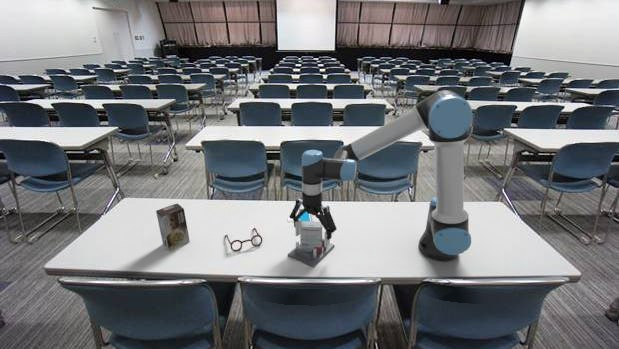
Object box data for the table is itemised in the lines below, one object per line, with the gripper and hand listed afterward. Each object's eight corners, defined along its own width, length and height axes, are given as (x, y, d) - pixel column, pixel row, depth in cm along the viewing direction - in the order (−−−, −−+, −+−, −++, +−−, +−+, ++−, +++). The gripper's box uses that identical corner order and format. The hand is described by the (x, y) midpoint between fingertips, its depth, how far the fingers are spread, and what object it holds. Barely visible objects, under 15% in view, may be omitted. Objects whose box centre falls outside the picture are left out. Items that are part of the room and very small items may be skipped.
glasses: (231, 253, 130) (230, 242, 128) (224, 236, 141) (223, 227, 139) (262, 245, 136) (262, 235, 134) (254, 230, 146) (253, 220, 144)
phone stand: (287, 210, 163) (287, 207, 163) (311, 209, 164) (311, 206, 164) (288, 232, 145) (288, 229, 144) (315, 231, 146) (315, 228, 145)
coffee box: (183, 235, 141) (177, 202, 135) (190, 242, 137) (184, 208, 131) (162, 244, 135) (155, 210, 129) (168, 251, 131) (161, 216, 125)
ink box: (322, 245, 133) (322, 220, 128) (321, 253, 128) (322, 227, 124) (301, 245, 133) (301, 220, 129) (300, 252, 129) (300, 226, 124)
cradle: (334, 246, 134) (334, 236, 132) (313, 267, 122) (313, 256, 120) (310, 237, 140) (310, 227, 138) (287, 256, 128) (287, 245, 126)
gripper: (346, 195, 117) (344, 245, 125) (291, 180, 130) (292, 226, 138) (336, 203, 112) (335, 255, 120) (279, 187, 124) (281, 234, 132)
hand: (312, 239), depth 129 cm, fingers open, 13 cm apart
